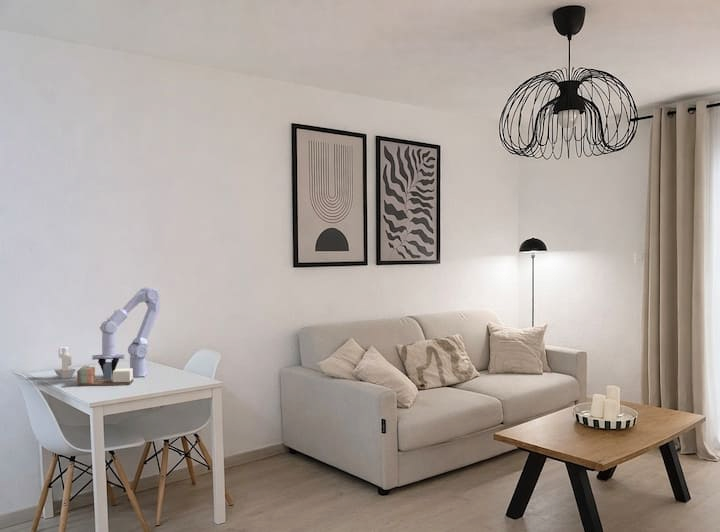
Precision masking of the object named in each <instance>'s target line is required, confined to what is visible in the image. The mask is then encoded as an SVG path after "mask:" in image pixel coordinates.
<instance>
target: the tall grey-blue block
mask: <svg viewBox="0 0 720 532" xmlns="http://www.w3.org/2000/svg"><path fill="white" fill-rule="evenodd" d="M102 376H103V379H102V380H113V375H112V361H106V363H105V364H103V372H102Z"/></svg>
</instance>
